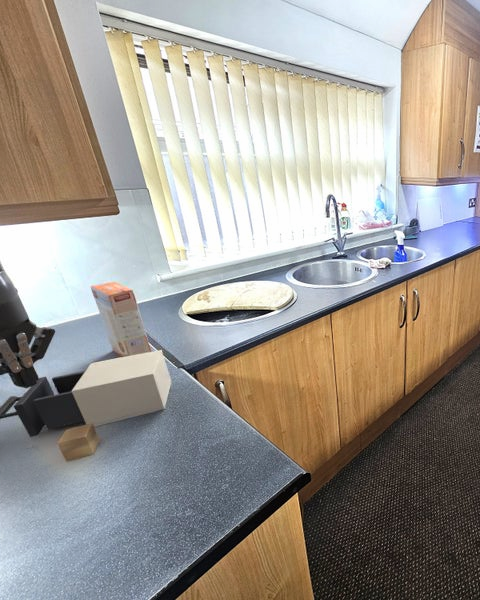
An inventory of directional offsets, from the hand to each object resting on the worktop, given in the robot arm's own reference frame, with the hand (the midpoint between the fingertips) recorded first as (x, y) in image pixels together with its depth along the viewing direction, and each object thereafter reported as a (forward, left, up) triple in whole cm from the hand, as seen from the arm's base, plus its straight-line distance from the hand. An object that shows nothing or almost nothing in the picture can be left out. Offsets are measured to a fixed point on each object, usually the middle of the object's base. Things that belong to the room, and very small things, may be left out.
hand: (28, 385), depth 61 cm
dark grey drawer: (0, +7, -12) cm, 14 cm away
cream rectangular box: (+11, +7, -13) cm, 19 cm away
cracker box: (+6, +35, -13) cm, 38 cm away
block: (+6, -6, -13) cm, 16 cm away
